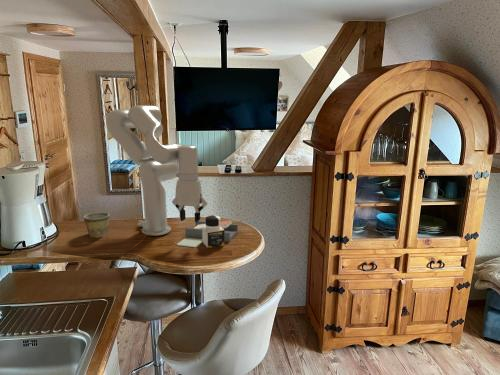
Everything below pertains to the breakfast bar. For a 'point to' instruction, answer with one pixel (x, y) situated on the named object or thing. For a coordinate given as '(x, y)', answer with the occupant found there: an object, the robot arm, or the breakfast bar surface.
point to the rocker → (223, 225)
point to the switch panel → (197, 233)
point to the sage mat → (190, 242)
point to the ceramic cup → (97, 224)
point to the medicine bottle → (213, 232)
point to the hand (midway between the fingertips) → (190, 220)
